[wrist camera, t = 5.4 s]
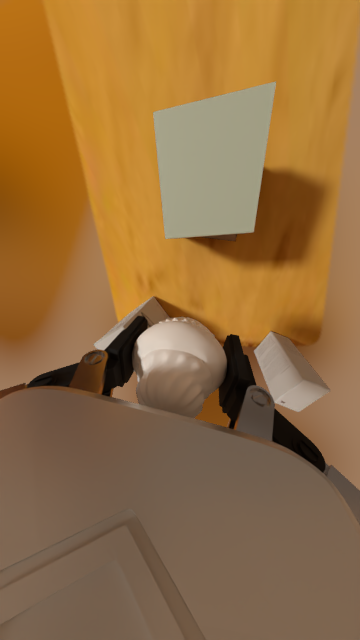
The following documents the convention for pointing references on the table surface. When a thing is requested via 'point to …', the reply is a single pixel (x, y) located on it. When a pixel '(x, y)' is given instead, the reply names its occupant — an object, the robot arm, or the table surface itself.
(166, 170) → the top block
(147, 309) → the supplement box
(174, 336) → the muffin
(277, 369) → the skincare box
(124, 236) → the table surface
